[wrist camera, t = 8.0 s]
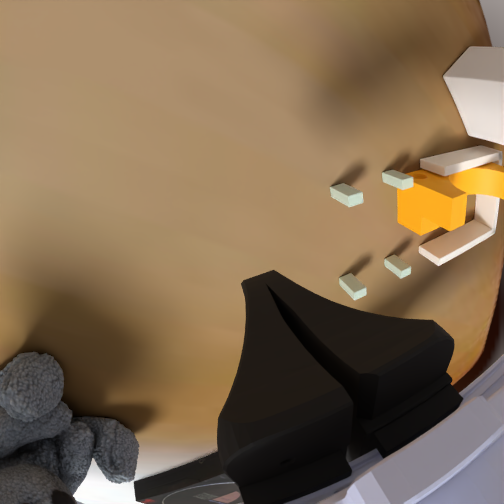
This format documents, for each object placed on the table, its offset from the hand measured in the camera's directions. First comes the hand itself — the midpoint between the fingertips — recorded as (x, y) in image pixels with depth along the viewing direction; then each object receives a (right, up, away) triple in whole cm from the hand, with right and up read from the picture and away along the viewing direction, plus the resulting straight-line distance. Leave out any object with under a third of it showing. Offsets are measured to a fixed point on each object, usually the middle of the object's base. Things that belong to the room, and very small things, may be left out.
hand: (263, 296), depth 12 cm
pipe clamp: (+18, +8, +14) cm, 24 cm away
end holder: (+20, +7, +14) cm, 26 cm away
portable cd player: (-7, -34, +27) cm, 44 cm away
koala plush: (-23, -16, +12) cm, 30 cm away
